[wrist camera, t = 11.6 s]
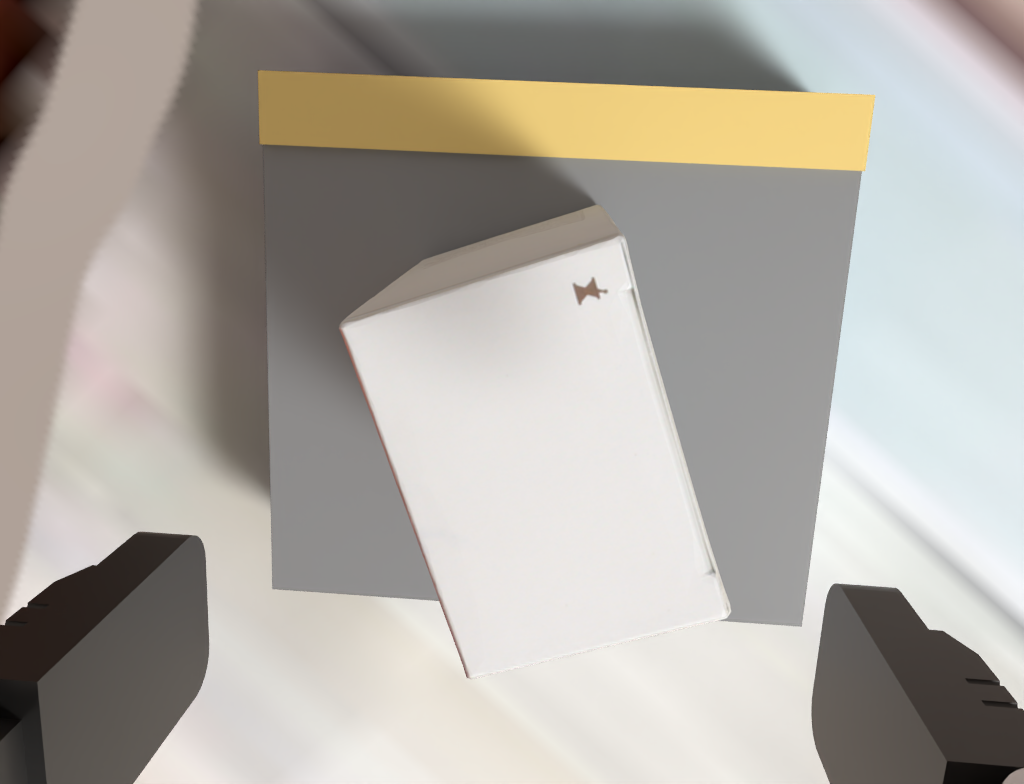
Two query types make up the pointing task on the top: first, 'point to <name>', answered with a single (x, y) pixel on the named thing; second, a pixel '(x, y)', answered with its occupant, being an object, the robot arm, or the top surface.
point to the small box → (536, 445)
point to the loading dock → (536, 198)
